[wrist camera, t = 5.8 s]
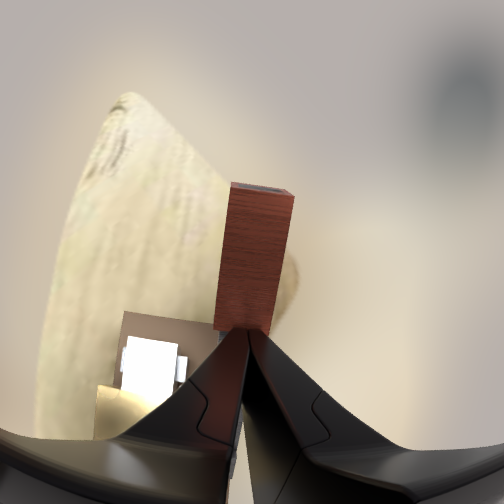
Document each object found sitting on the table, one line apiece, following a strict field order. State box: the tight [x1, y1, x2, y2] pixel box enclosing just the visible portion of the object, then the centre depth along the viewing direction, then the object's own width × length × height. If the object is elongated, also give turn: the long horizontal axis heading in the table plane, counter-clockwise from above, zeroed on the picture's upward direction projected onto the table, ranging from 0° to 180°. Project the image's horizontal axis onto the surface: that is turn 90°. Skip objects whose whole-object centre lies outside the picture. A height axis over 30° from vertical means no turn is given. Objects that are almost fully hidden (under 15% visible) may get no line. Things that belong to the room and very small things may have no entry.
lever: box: [213, 182, 295, 479], centre depth 10 cm, size 2×2×12 cm
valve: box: [93, 336, 190, 440], centre depth 14 cm, size 10×5×5 cm, turn 176°
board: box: [113, 311, 230, 504], centre depth 17 cm, size 14×8×1 cm, turn 176°
